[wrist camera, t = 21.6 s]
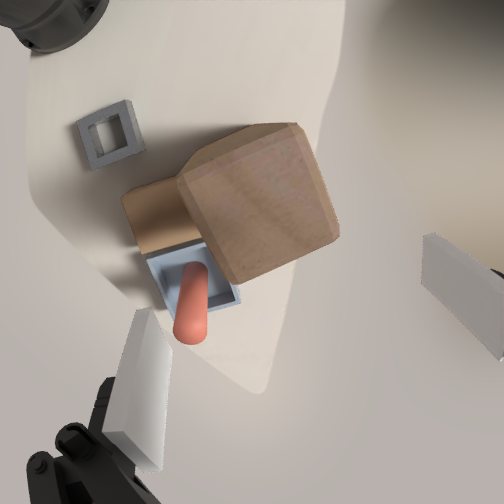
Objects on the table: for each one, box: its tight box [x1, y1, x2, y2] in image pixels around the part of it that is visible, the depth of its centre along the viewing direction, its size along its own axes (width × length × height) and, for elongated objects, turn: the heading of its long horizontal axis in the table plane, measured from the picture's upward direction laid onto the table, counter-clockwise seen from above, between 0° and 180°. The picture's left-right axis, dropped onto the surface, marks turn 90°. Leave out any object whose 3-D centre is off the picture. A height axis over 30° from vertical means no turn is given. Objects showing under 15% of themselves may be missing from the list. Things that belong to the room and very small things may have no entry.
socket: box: [77, 100, 146, 171], centre depth 35 cm, size 7×7×3 cm
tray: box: [146, 237, 241, 321], centre depth 43 cm, size 10×10×4 cm
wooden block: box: [175, 123, 339, 285], centre depth 31 cm, size 10×10×20 cm
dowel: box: [173, 261, 208, 345], centre depth 38 cm, size 4×4×14 cm
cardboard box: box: [121, 175, 202, 254], centre depth 40 cm, size 8×10×4 cm
